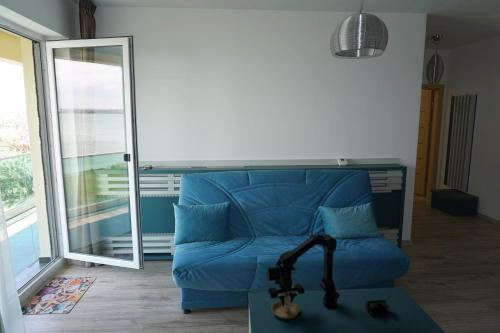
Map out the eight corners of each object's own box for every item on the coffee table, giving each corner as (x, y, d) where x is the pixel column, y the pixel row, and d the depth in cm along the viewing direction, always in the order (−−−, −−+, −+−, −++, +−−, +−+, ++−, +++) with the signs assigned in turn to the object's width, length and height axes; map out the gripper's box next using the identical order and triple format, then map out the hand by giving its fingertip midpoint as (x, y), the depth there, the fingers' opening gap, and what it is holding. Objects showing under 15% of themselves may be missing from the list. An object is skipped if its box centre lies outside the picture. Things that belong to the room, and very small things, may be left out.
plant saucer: (298, 323, 167) (298, 318, 166) (269, 320, 170) (269, 315, 169) (300, 307, 181) (300, 302, 181) (273, 304, 184) (273, 299, 184)
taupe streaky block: (286, 305, 178) (287, 291, 177) (290, 310, 173) (290, 296, 172) (281, 306, 177) (281, 292, 176) (285, 311, 172) (285, 297, 171)
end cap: (382, 308, 178) (383, 297, 177) (389, 316, 172) (390, 304, 170) (364, 309, 178) (365, 298, 176) (370, 317, 171) (371, 305, 169)
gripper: (296, 269, 182) (296, 295, 185) (264, 273, 178) (264, 300, 180) (305, 278, 172) (304, 306, 174) (271, 283, 167) (271, 312, 170)
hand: (286, 305), depth 175 cm, fingers closed on taupe streaky block, 3 cm apart
